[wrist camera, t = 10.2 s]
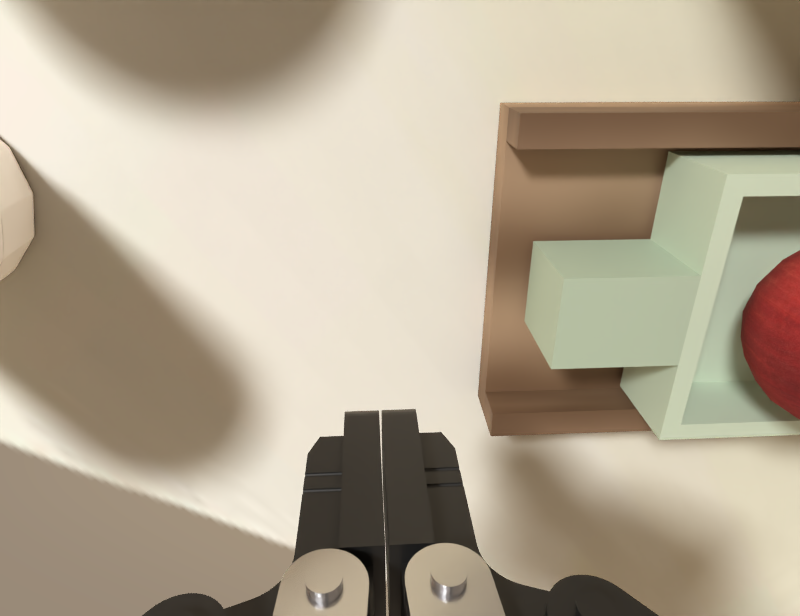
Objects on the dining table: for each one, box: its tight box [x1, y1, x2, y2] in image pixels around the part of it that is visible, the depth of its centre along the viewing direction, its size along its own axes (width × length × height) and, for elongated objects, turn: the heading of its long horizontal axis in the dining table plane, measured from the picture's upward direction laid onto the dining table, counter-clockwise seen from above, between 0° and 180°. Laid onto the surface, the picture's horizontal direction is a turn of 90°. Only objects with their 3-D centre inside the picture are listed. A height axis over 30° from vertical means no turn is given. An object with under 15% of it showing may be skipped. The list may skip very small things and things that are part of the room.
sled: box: [524, 150, 800, 440], centre depth 18 cm, size 9×13×3 cm
